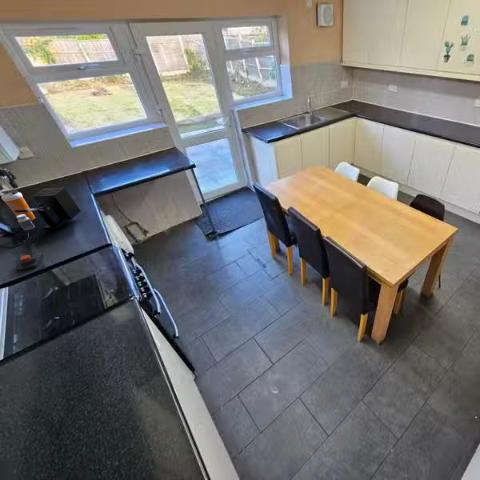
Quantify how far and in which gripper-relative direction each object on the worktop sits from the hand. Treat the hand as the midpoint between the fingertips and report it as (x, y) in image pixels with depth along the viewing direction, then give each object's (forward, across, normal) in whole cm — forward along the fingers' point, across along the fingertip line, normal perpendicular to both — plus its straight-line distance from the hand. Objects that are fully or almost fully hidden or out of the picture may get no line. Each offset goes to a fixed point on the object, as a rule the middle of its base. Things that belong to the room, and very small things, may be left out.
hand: (9, 188), depth 145 cm
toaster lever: (+17, -4, +6) cm, 18 cm away
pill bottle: (+29, -19, +9) cm, 36 cm away
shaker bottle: (+27, -28, +18) cm, 43 cm away
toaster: (+29, -6, +22) cm, 37 cm away
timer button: (+30, +10, -25) cm, 40 cm away
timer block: (+34, +9, -24) cm, 43 cm away
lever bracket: (+30, -6, +12) cm, 33 cm away
